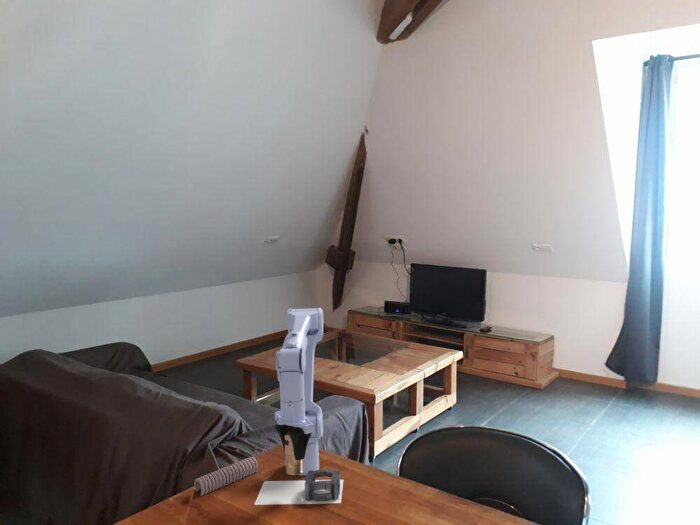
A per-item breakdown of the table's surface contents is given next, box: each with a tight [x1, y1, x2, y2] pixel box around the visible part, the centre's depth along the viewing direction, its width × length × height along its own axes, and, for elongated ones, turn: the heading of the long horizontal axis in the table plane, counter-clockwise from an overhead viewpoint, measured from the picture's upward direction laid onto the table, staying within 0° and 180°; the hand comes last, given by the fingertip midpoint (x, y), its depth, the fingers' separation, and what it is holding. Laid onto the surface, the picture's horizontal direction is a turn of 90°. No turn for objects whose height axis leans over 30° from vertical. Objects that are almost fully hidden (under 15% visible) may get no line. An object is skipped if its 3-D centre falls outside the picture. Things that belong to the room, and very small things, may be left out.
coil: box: [193, 456, 259, 497], centre depth 143 cm, size 5×5×18 cm
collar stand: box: [304, 468, 341, 501], centre depth 134 cm, size 8×8×4 cm
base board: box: [254, 479, 344, 506], centre depth 135 cm, size 20×12×1 cm, turn 88°
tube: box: [284, 432, 303, 476], centre depth 133 cm, size 4×4×9 cm
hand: (294, 456), depth 133 cm, fingers closed on tube, 4 cm apart
